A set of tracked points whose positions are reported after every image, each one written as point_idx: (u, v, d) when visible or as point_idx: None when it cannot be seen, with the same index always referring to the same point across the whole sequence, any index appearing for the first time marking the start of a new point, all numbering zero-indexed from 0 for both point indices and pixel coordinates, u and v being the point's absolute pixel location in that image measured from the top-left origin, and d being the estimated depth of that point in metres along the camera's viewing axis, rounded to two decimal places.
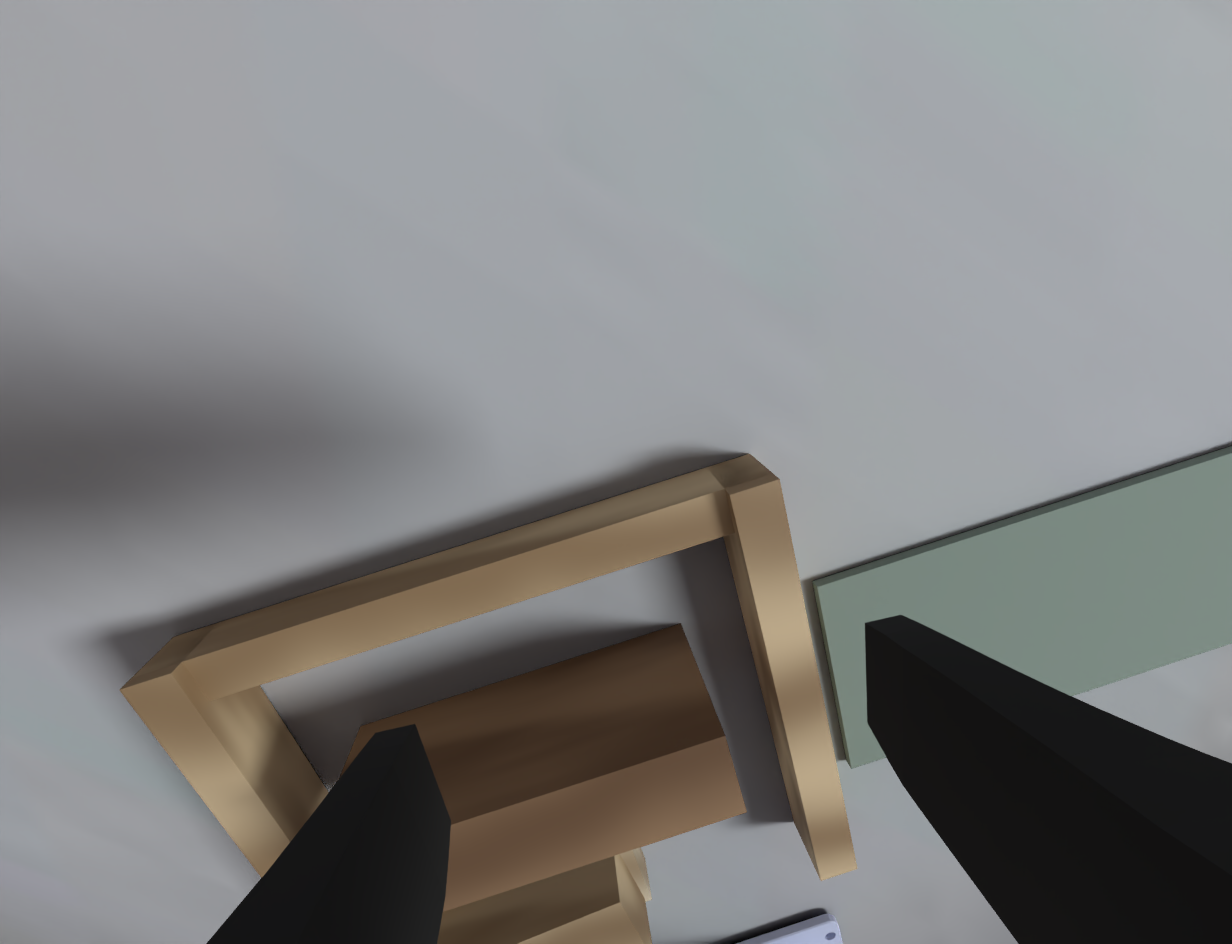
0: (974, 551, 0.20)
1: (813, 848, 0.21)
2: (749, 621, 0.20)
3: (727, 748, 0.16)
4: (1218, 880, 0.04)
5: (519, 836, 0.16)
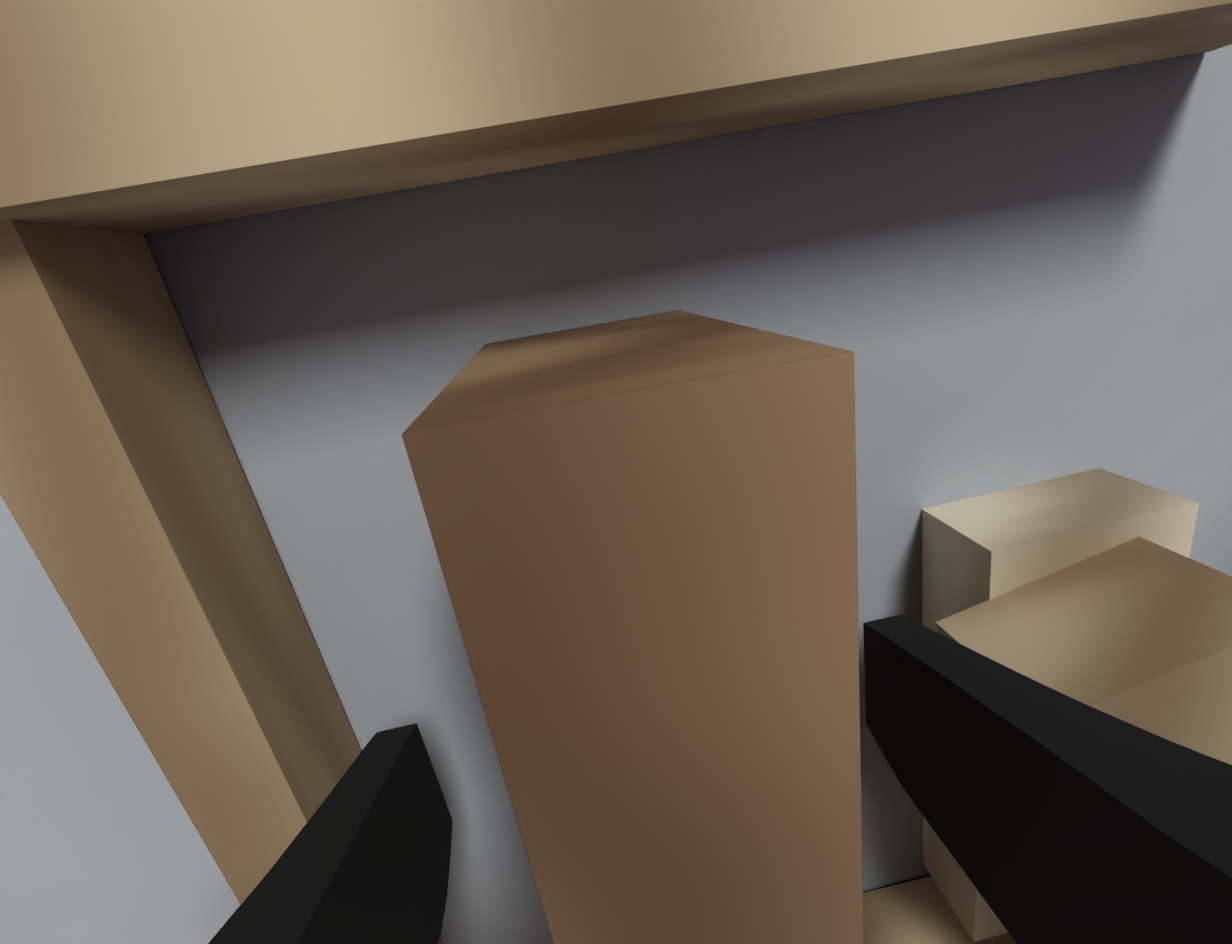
0: None
1: None
2: (435, 169, 0.07)
3: (478, 424, 0.04)
4: (1216, 881, 0.04)
5: None
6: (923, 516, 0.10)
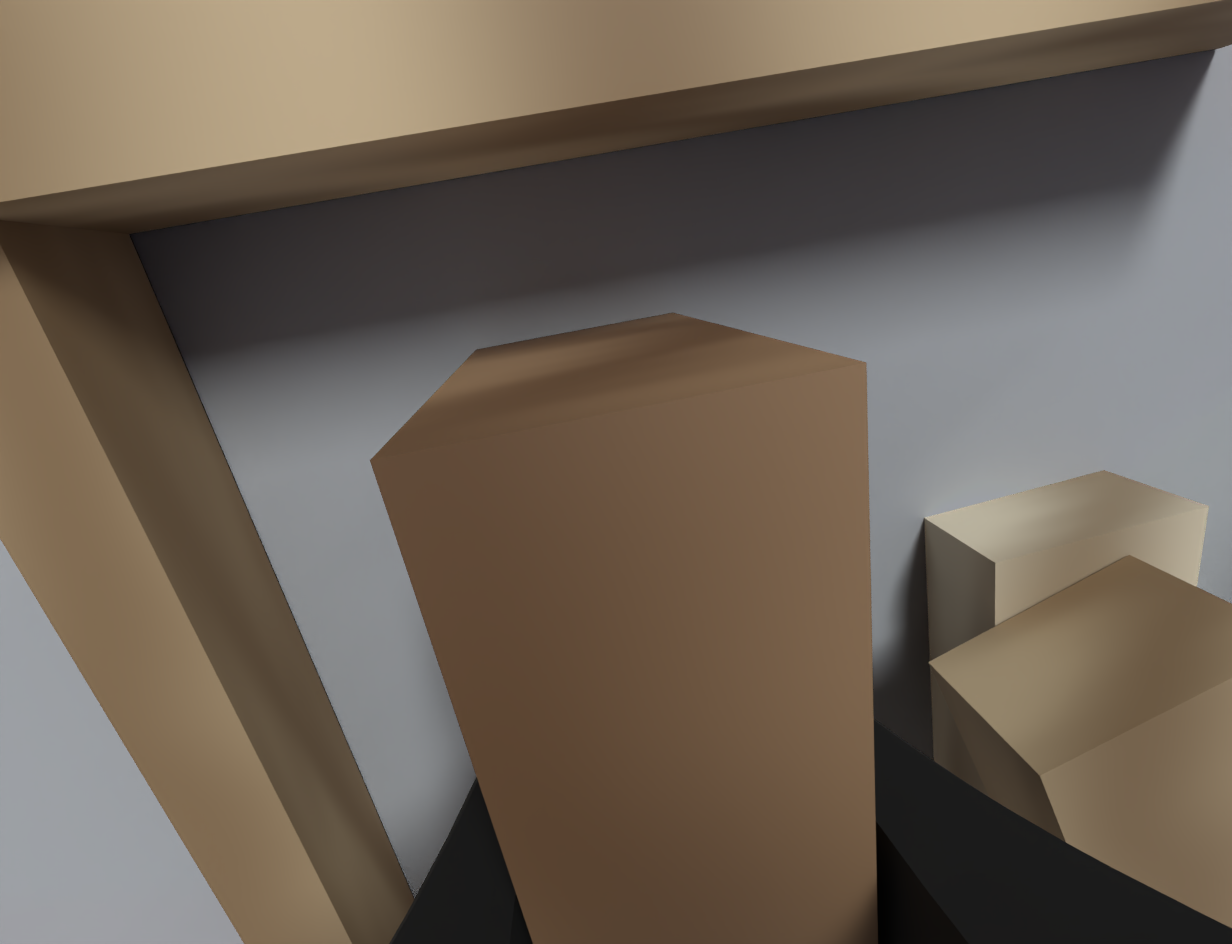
0: None
1: None
2: (428, 167, 0.07)
3: (455, 448, 0.03)
4: None
5: None
6: (925, 525, 0.10)
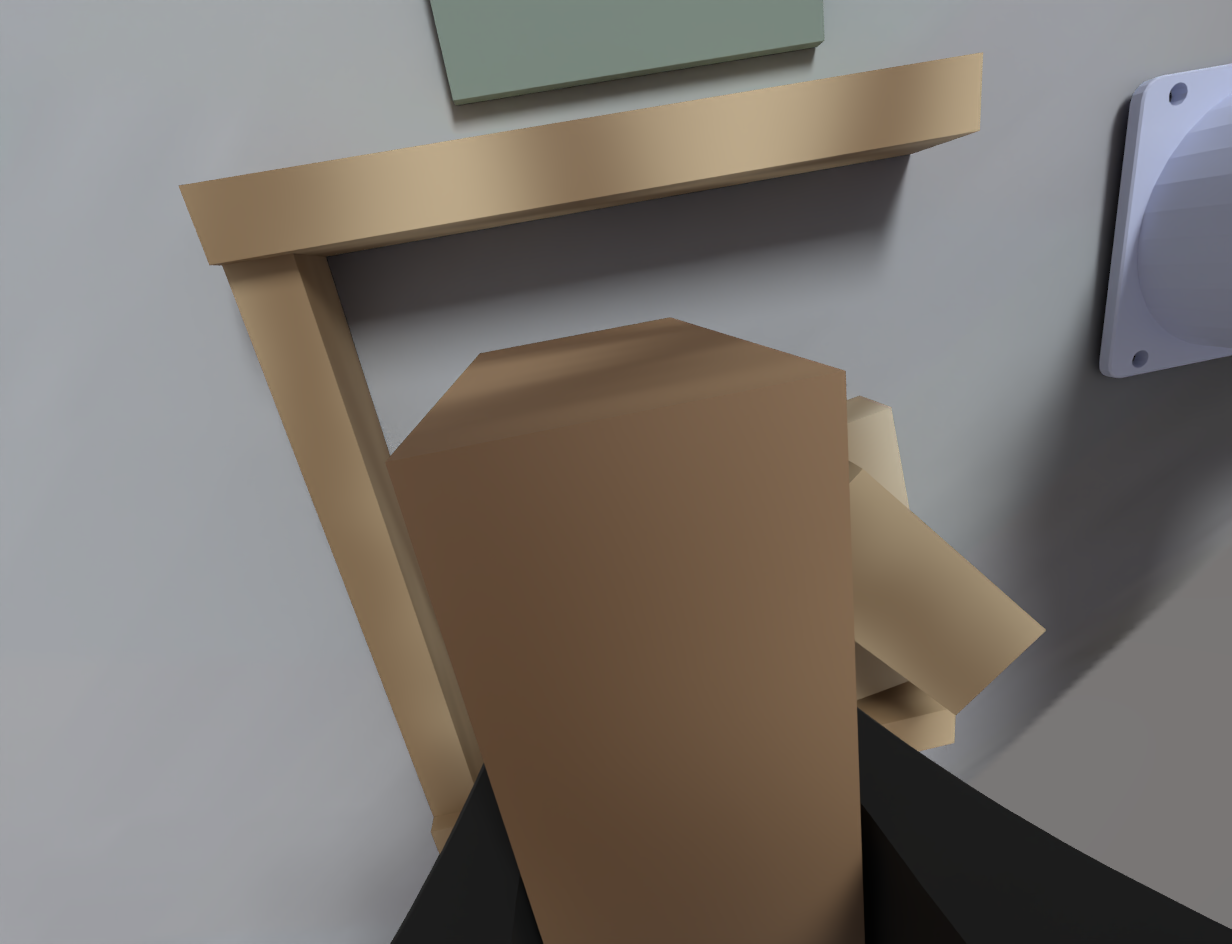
0: None
1: (902, 143, 0.13)
2: (484, 224, 0.14)
3: (464, 450, 0.04)
4: None
5: None
6: None
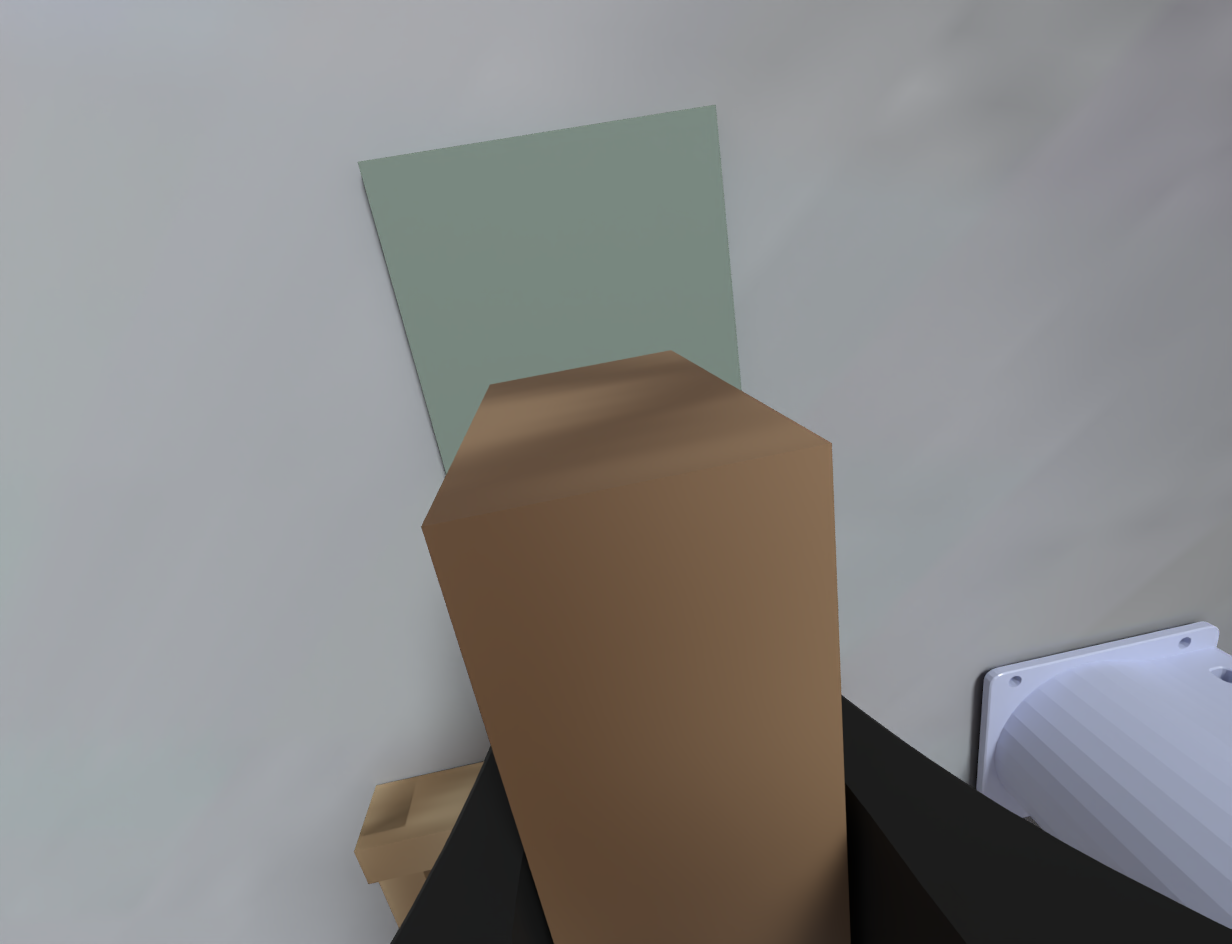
0: None
1: None
2: None
3: (491, 515, 0.04)
4: None
5: None
6: None
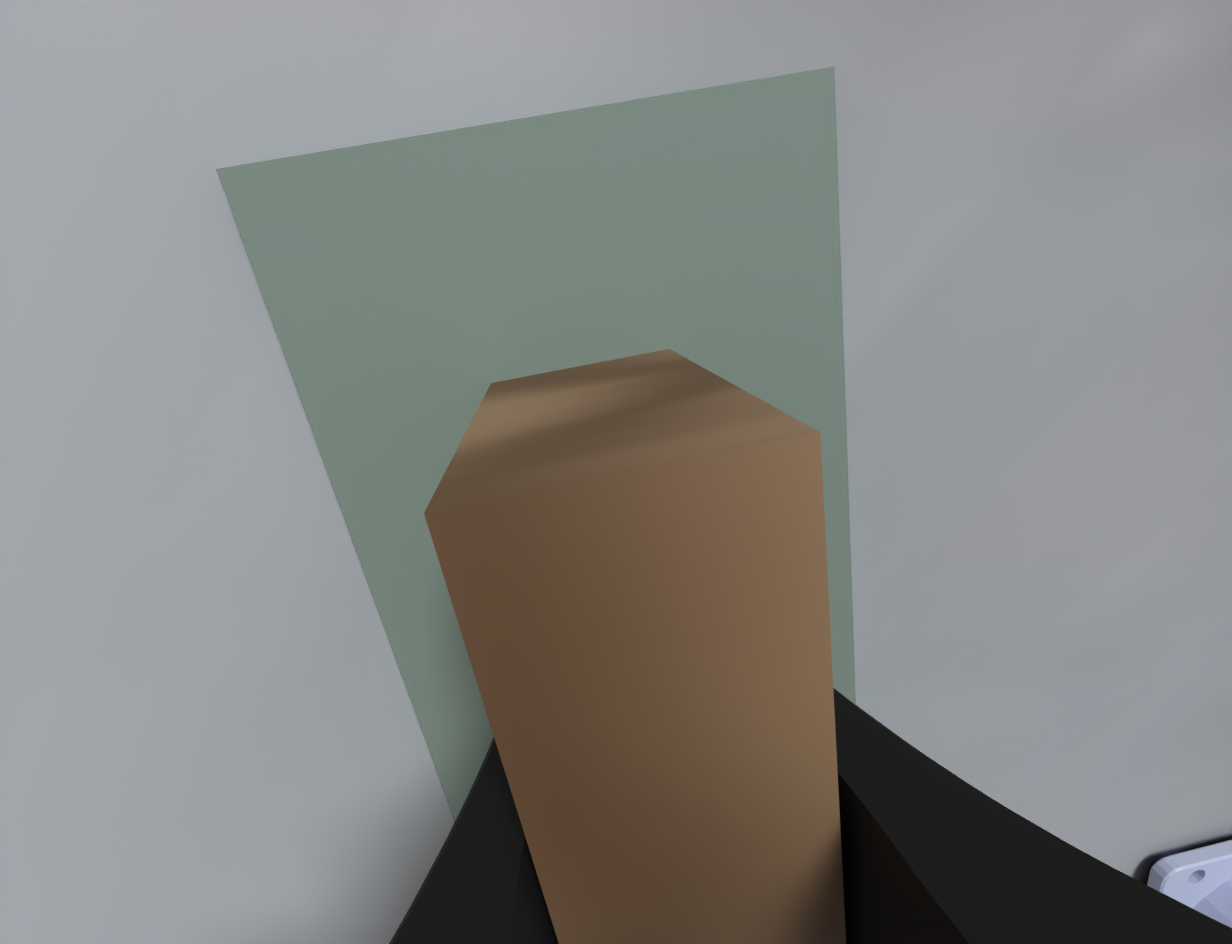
0: None
1: None
2: None
3: (491, 502, 0.04)
4: None
5: None
6: None
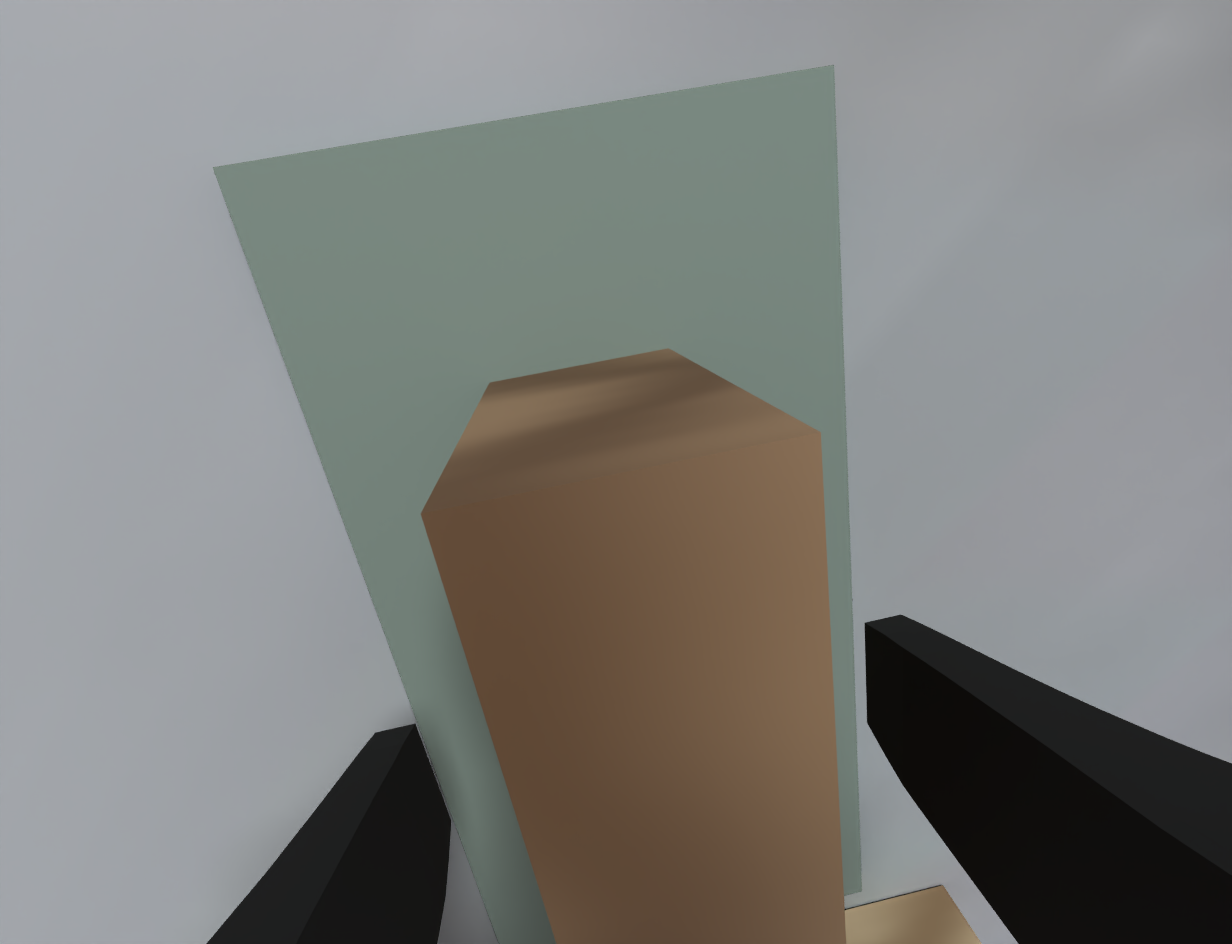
0: (477, 798, 0.12)
1: None
2: None
3: (488, 503, 0.04)
4: (1218, 880, 0.04)
5: None
6: None
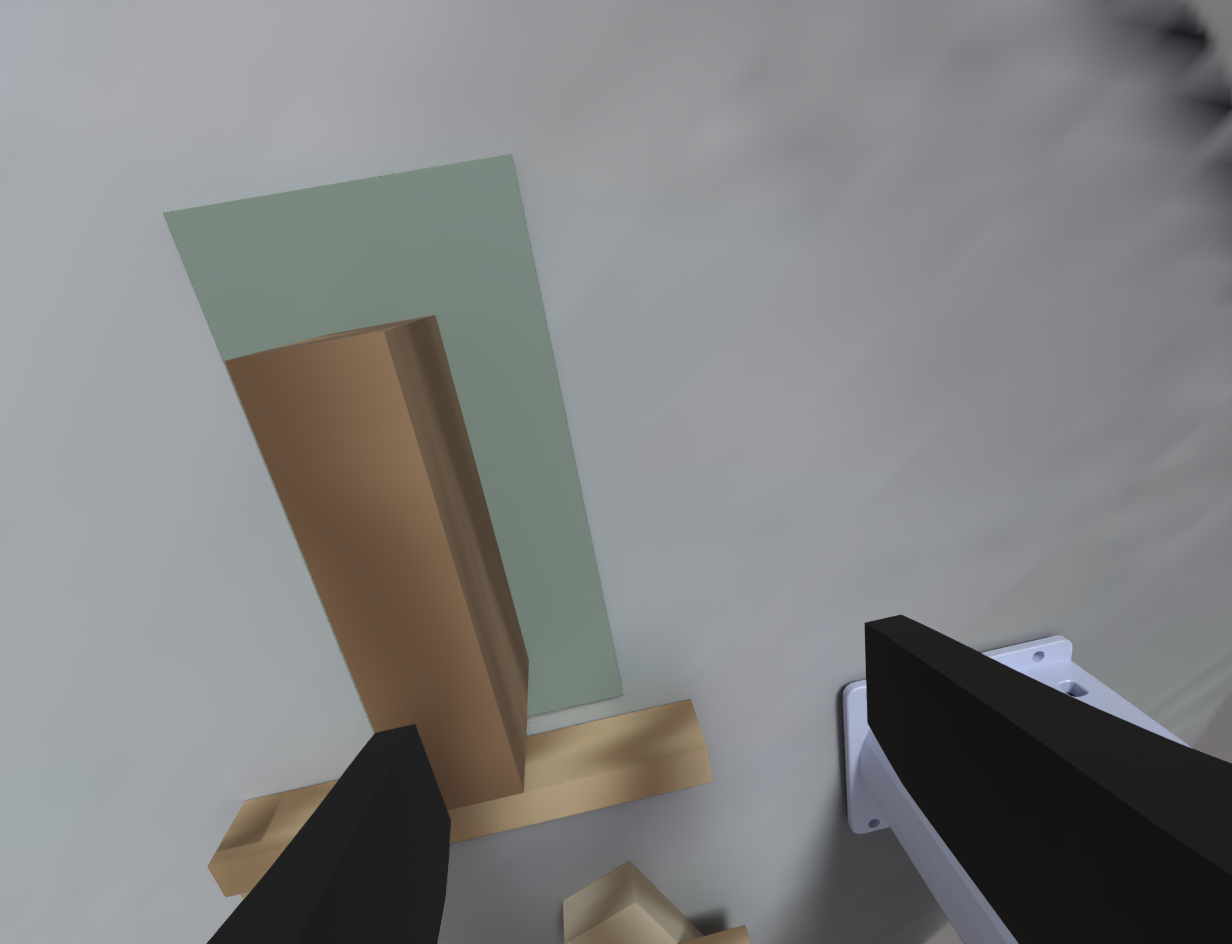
0: None
1: (662, 791, 0.20)
2: None
3: (251, 357, 0.11)
4: (1218, 880, 0.04)
5: (386, 625, 0.13)
6: (564, 903, 0.25)
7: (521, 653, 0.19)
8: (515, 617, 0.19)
